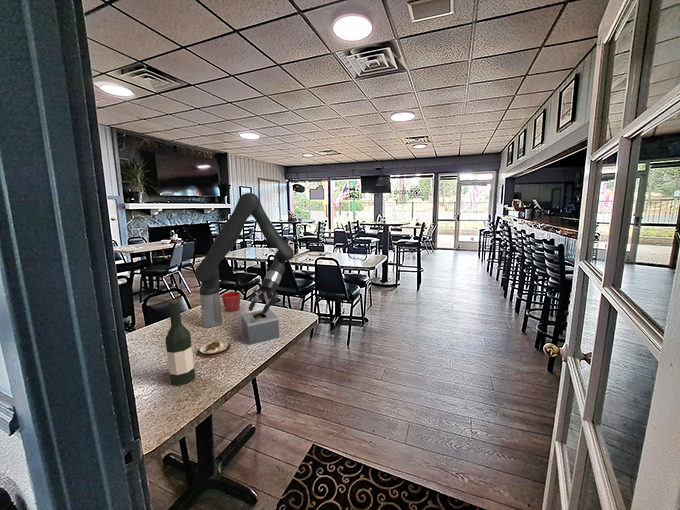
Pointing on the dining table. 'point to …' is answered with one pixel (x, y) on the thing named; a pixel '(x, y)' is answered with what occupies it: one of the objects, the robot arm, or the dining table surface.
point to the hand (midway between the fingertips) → (256, 311)
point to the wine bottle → (179, 348)
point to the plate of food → (214, 349)
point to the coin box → (260, 326)
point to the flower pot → (231, 301)
